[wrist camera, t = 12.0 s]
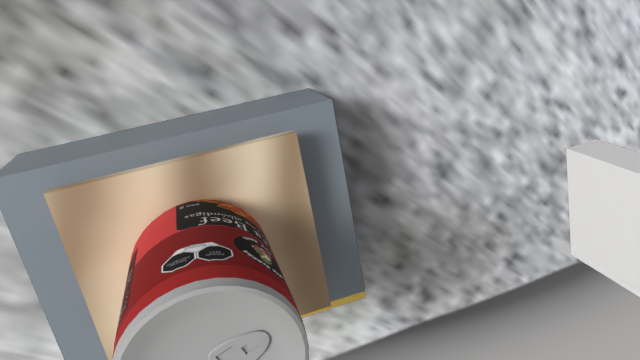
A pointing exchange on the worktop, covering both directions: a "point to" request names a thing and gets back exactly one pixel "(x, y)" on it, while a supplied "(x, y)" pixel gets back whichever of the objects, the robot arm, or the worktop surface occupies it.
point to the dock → (161, 145)
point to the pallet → (180, 187)
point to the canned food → (207, 291)
